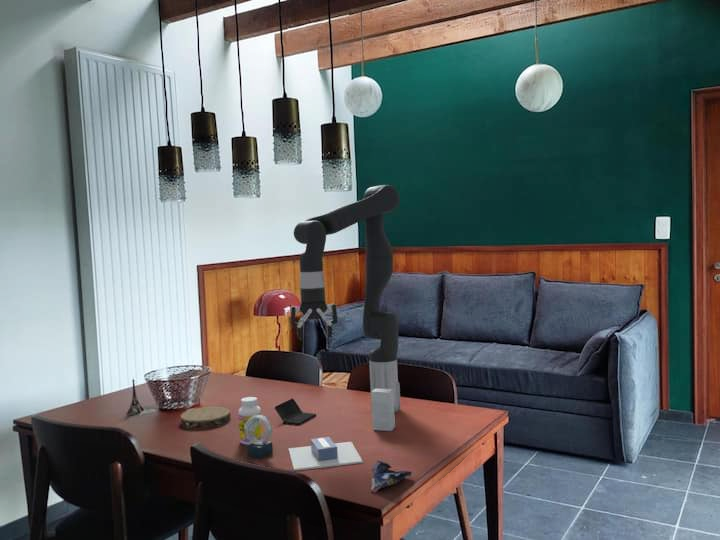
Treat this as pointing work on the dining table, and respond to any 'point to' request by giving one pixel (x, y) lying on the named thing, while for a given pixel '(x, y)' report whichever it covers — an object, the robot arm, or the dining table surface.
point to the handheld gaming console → (292, 413)
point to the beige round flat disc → (205, 417)
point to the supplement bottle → (245, 413)
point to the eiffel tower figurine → (137, 406)
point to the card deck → (324, 449)
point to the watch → (258, 446)
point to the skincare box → (383, 409)
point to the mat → (307, 460)
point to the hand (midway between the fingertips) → (314, 338)
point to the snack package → (386, 475)
